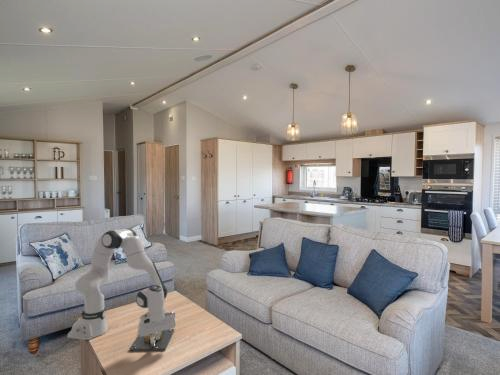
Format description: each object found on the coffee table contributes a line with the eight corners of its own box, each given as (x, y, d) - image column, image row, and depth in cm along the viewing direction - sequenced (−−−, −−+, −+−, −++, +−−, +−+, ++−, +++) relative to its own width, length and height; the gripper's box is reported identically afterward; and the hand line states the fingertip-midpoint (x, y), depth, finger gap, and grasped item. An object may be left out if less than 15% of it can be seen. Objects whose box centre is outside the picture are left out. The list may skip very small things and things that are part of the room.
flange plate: (129, 351, 163) (129, 337, 163) (142, 331, 183) (142, 320, 183) (165, 350, 163) (165, 337, 163) (174, 331, 183) (174, 319, 183)
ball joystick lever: (144, 334, 176) (144, 324, 176) (161, 331, 179) (161, 322, 179) (143, 349, 161) (142, 338, 161) (162, 346, 164) (161, 335, 164)
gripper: (173, 308, 172) (174, 331, 173) (136, 317, 162) (137, 341, 163) (176, 312, 167) (177, 336, 167) (138, 322, 157) (139, 347, 157)
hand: (157, 339), depth 165 cm, fingers closed
